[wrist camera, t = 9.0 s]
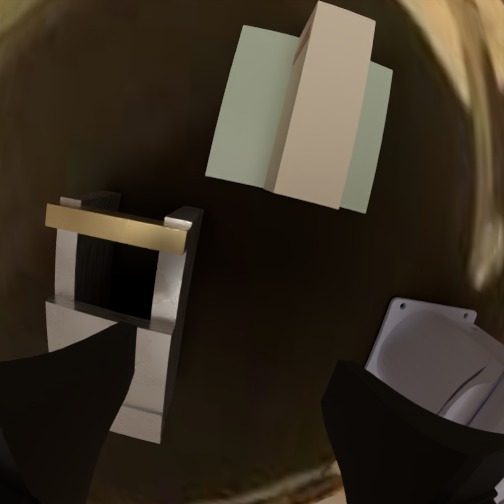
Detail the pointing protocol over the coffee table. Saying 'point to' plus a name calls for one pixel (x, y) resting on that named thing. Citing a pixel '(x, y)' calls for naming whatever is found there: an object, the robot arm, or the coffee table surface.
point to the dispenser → (98, 291)
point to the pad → (269, 111)
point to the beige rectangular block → (322, 107)
